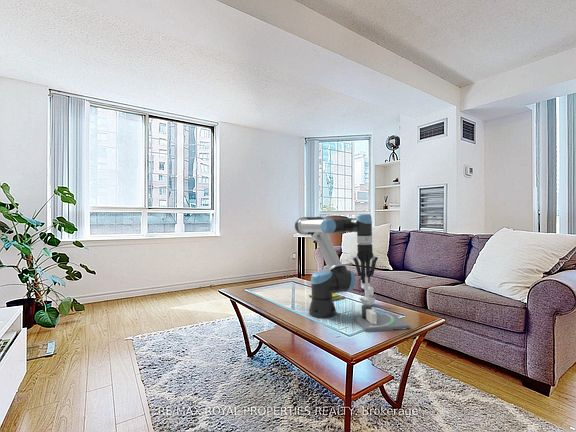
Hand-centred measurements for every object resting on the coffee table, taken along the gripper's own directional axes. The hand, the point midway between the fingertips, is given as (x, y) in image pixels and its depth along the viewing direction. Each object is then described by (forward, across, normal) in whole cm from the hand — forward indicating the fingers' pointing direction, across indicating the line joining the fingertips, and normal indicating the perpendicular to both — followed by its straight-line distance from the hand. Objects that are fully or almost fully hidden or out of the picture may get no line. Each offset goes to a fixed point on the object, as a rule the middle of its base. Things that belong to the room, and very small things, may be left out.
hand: (366, 289), depth 155 cm
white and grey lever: (+14, 0, -4) cm, 15 cm away
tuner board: (+16, +5, -5) cm, 18 cm away
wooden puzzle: (+17, -10, +50) cm, 54 cm away
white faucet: (+17, +11, +29) cm, 35 cm away
